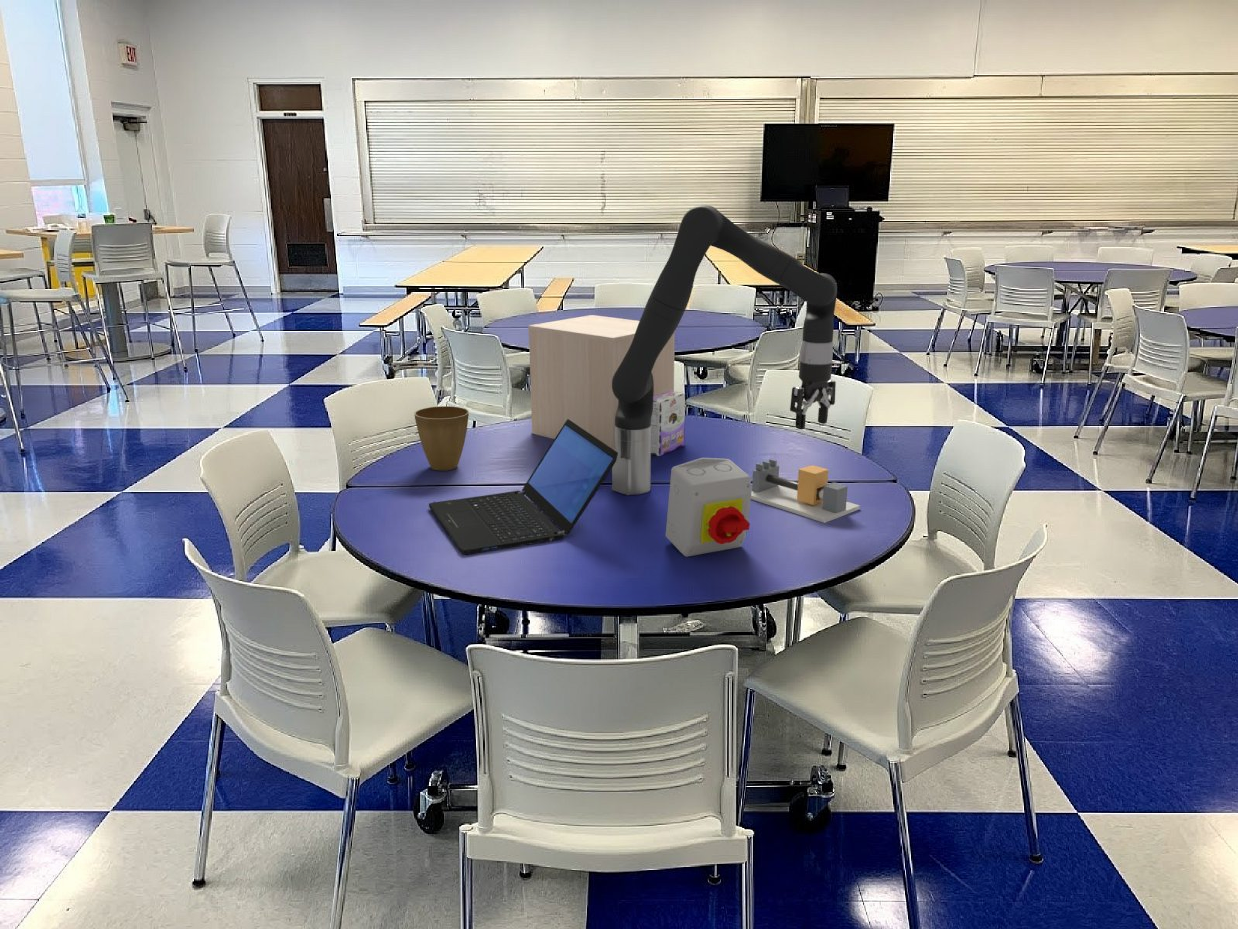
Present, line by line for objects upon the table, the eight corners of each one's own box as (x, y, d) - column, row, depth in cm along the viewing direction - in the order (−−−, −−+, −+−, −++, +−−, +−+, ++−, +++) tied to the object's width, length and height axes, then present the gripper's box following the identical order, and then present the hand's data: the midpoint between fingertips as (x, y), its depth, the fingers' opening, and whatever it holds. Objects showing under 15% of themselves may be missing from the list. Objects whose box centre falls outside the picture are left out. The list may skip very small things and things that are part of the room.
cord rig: (744, 496, 240) (745, 466, 238) (779, 485, 249) (780, 455, 246) (824, 523, 222) (826, 490, 220) (859, 509, 231) (861, 477, 229)
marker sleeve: (796, 500, 233) (798, 469, 230) (809, 495, 236) (811, 465, 234) (813, 505, 229) (815, 473, 227) (826, 500, 233) (828, 469, 230)
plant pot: (448, 478, 256) (445, 421, 251) (406, 470, 263) (402, 414, 258) (482, 463, 268) (479, 409, 263) (441, 456, 275) (438, 403, 270)
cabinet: (674, 433, 298) (676, 325, 288) (614, 453, 277) (613, 337, 267) (593, 416, 320) (592, 314, 310) (531, 433, 299) (528, 325, 289)
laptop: (428, 509, 233) (423, 434, 227) (570, 489, 247) (569, 418, 241) (461, 558, 204) (456, 473, 198) (620, 532, 218) (620, 452, 212)
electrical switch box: (695, 576, 199) (704, 491, 190) (664, 542, 211) (671, 461, 202) (755, 564, 204) (766, 482, 196) (722, 532, 217) (731, 453, 208)
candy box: (668, 442, 288) (669, 390, 283) (685, 445, 285) (686, 392, 280) (643, 453, 278) (643, 398, 273) (660, 456, 274) (660, 401, 269)
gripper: (810, 366, 216) (805, 434, 221) (847, 358, 225) (841, 424, 230) (784, 361, 221) (780, 427, 226) (821, 353, 230) (817, 418, 235)
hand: (811, 425), depth 228 cm, fingers open, 8 cm apart
